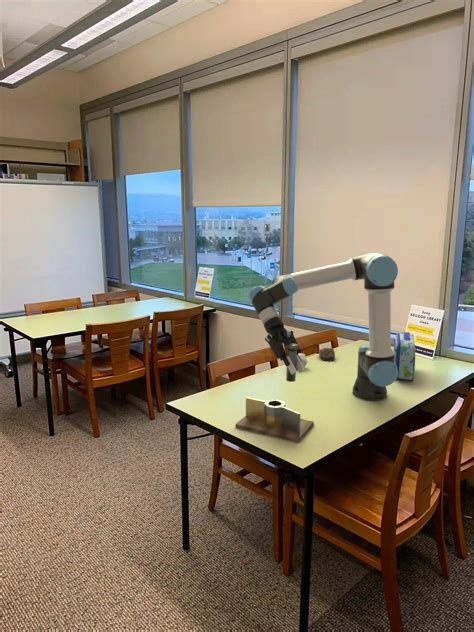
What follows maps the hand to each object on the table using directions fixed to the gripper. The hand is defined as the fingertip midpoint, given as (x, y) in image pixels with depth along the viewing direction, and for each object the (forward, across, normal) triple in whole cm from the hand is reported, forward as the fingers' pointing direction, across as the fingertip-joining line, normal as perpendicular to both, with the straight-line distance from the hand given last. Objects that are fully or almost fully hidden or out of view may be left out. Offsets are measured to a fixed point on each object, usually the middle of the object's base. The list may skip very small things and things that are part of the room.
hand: (298, 371), depth 169 cm
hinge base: (+13, +7, -18) cm, 24 cm away
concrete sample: (-22, -73, -53) cm, 93 cm away
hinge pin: (+1, 0, -6) cm, 6 cm away
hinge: (+12, +8, -18) cm, 23 cm away
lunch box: (+8, -84, -22) cm, 87 cm away
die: (-19, -48, -51) cm, 73 cm away
